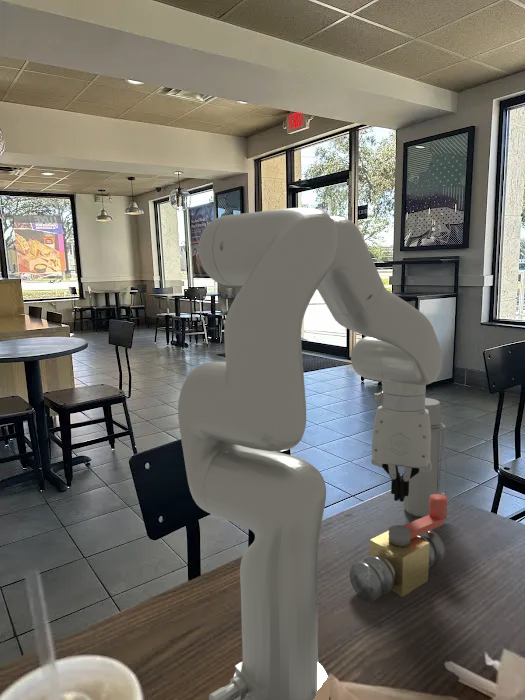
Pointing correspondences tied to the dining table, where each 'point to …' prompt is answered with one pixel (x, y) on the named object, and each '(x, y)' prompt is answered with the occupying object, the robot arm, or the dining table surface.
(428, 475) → the water bottle
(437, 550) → the valve
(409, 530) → the lever
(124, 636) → the dining table surface
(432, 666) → the dining table surface
